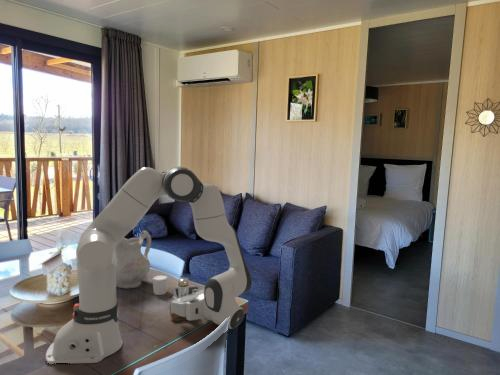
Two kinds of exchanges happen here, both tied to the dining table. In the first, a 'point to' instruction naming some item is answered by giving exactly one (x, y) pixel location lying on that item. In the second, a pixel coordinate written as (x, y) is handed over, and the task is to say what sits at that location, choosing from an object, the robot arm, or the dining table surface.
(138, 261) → the ceramic pitcher
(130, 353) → the dining table surface
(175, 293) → the tray
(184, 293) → the steel pin
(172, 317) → the socket block
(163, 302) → the dining table surface
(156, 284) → the shot glass
